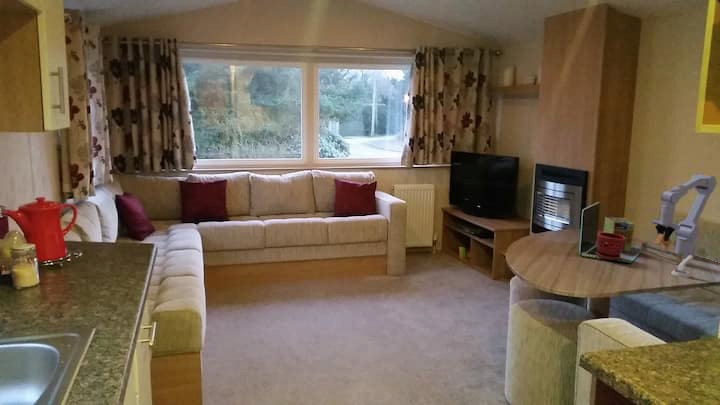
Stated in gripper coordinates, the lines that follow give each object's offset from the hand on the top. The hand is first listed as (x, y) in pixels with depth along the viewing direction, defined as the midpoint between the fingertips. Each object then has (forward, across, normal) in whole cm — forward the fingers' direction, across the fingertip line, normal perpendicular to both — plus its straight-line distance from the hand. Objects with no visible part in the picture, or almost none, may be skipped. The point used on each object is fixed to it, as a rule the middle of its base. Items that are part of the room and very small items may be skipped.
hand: (663, 240), depth 275 cm
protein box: (+10, -22, -7) cm, 25 cm away
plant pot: (+10, -8, -28) cm, 31 cm away
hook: (+10, +23, -16) cm, 30 cm away
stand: (+10, 0, 0) cm, 10 cm away
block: (+3, 0, -1) cm, 4 cm away
